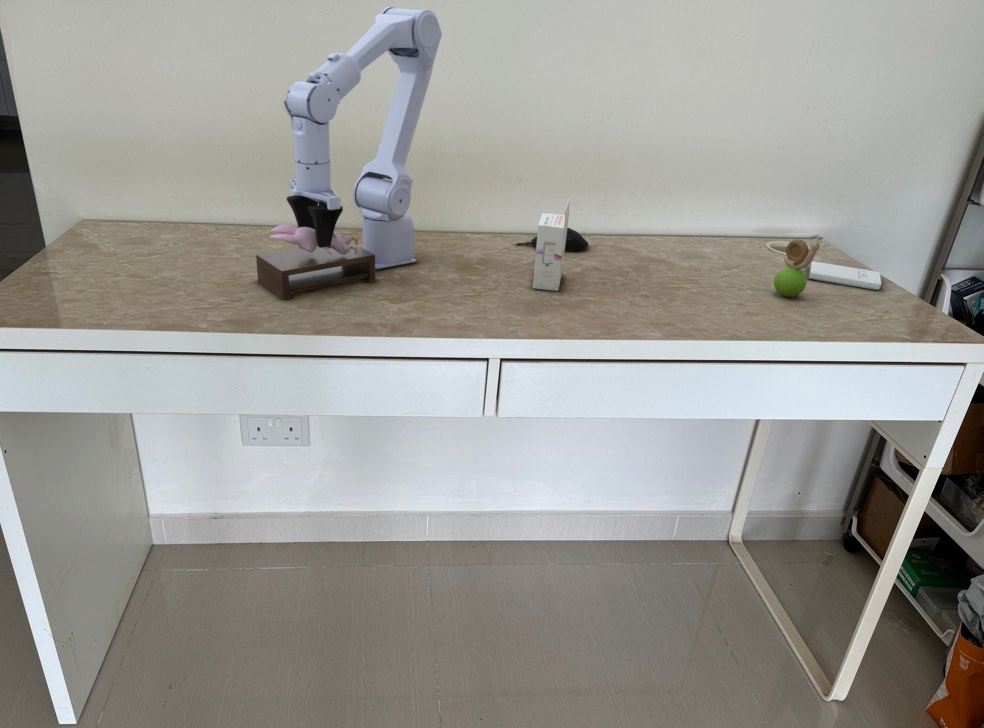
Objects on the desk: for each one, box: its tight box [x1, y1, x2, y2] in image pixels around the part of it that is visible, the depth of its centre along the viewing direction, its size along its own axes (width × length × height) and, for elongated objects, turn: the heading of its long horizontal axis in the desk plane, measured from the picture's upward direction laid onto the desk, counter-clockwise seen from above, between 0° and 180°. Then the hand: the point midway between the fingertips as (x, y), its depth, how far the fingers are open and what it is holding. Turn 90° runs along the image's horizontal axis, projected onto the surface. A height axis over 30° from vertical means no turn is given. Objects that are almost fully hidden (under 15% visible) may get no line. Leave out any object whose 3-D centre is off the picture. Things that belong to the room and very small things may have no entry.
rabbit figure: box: [269, 223, 359, 255], centre depth 132 cm, size 6×6×15 cm
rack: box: [255, 241, 376, 301], centre depth 135 cm, size 18×10×5 cm, turn 126°
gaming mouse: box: [517, 227, 590, 252], centre depth 160 cm, size 6×15×4 cm, turn 89°
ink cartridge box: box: [532, 198, 570, 292], centre depth 138 cm, size 9×5×15 cm, turn 168°
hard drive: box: [808, 260, 882, 291], centre depth 150 cm, size 2×8×12 cm
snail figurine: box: [773, 236, 824, 298], centre depth 137 cm, size 5×6×12 cm
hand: (315, 241), depth 133 cm, fingers closed on rabbit figure, 5 cm apart
